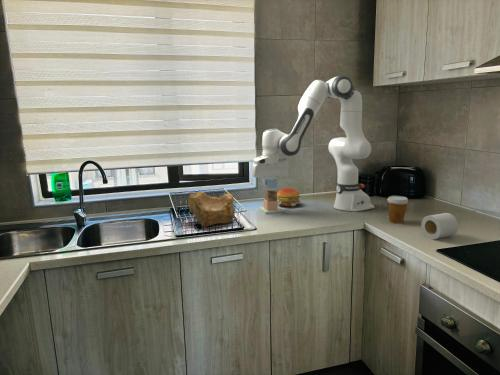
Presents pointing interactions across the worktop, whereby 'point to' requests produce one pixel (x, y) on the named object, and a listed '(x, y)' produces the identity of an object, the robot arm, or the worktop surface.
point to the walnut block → (270, 195)
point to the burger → (288, 197)
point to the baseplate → (270, 210)
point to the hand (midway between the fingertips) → (270, 184)
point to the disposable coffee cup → (397, 208)
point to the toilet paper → (439, 225)
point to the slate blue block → (271, 183)
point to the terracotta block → (270, 205)
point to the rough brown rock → (211, 208)
